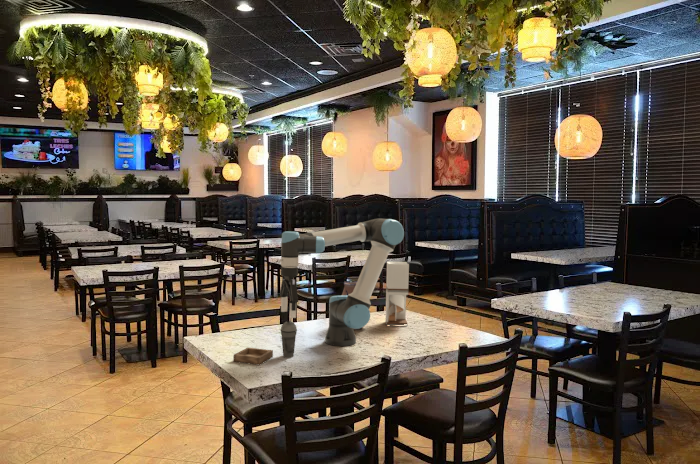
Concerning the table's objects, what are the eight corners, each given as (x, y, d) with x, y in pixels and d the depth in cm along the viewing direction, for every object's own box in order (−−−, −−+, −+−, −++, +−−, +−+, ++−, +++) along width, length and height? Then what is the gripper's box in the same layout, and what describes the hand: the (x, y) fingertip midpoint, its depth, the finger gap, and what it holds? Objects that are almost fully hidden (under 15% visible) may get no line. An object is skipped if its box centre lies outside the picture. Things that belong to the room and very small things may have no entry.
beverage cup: (280, 353, 243) (281, 309, 242) (296, 353, 244) (297, 309, 243) (279, 358, 236) (280, 313, 235) (296, 358, 237) (297, 313, 236)
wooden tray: (272, 357, 238) (272, 350, 238) (259, 364, 226) (259, 357, 226) (247, 354, 242) (247, 347, 242) (233, 361, 230) (233, 354, 230)
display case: (386, 326, 302) (388, 263, 300) (385, 322, 312) (386, 261, 310) (407, 326, 302) (408, 264, 300) (405, 322, 312) (406, 262, 310)
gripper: (273, 263, 248) (272, 309, 249) (289, 270, 225) (287, 320, 226) (289, 263, 251) (288, 308, 252) (306, 270, 228) (305, 320, 229)
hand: (288, 314), depth 239 cm, fingers open, 13 cm apart
